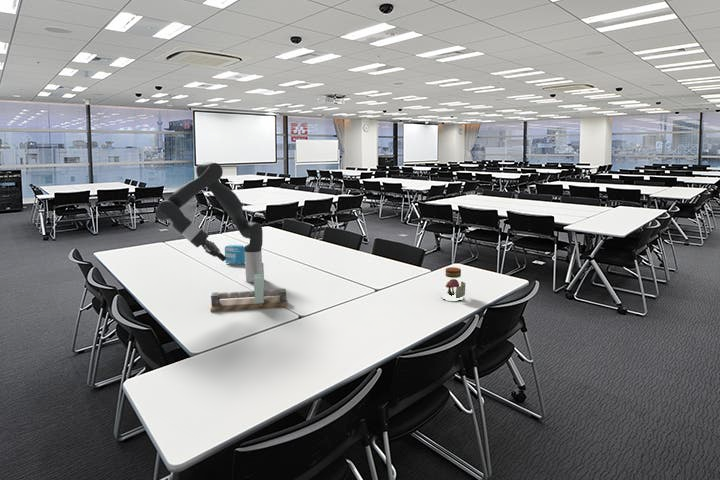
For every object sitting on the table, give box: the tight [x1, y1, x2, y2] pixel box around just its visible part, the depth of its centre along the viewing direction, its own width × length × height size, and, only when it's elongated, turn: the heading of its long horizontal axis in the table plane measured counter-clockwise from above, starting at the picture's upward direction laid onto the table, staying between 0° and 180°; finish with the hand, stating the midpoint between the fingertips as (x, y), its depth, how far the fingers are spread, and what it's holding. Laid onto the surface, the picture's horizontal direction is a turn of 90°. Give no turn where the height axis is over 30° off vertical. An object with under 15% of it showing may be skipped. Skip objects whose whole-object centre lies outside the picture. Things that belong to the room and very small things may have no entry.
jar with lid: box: [445, 266, 466, 298], centre depth 218 cm, size 12×13×15 cm
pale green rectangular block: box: [253, 274, 265, 304], centre depth 210 cm, size 4×8×12 cm, turn 10°
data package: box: [224, 244, 245, 265], centre depth 289 cm, size 12×4×12 cm, turn 75°
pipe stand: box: [210, 288, 288, 313], centre depth 210 cm, size 34×12×7 cm, turn 100°
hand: (224, 259), depth 206 cm, fingers closed
